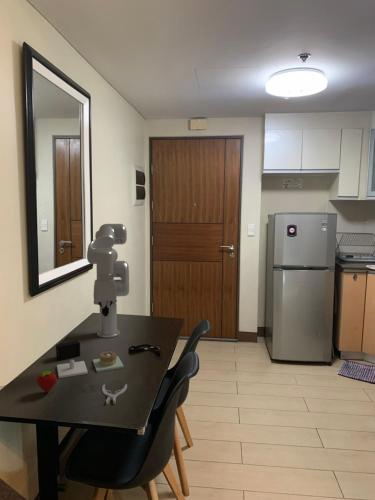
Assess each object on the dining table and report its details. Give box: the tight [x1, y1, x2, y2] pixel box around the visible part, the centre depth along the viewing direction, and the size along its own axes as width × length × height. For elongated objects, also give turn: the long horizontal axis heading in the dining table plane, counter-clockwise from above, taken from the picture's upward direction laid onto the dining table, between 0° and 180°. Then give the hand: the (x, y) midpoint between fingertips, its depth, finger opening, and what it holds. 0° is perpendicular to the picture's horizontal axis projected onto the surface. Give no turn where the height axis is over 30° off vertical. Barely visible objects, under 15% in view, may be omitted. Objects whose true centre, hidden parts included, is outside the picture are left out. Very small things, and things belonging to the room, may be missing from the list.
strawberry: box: [36, 370, 58, 393], centre depth 145 cm, size 6×8×10 cm
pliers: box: [101, 383, 128, 405], centre depth 145 cm, size 10×2×15 cm
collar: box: [99, 350, 117, 366], centre depth 172 cm, size 7×7×4 cm
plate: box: [92, 354, 125, 373], centre depth 172 cm, size 12×12×5 cm
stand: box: [56, 359, 89, 379], centre depth 166 cm, size 12×12×4 cm
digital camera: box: [55, 339, 81, 362], centre depth 180 cm, size 10×5×7 cm, turn 127°
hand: (105, 315), depth 174 cm, fingers closed
